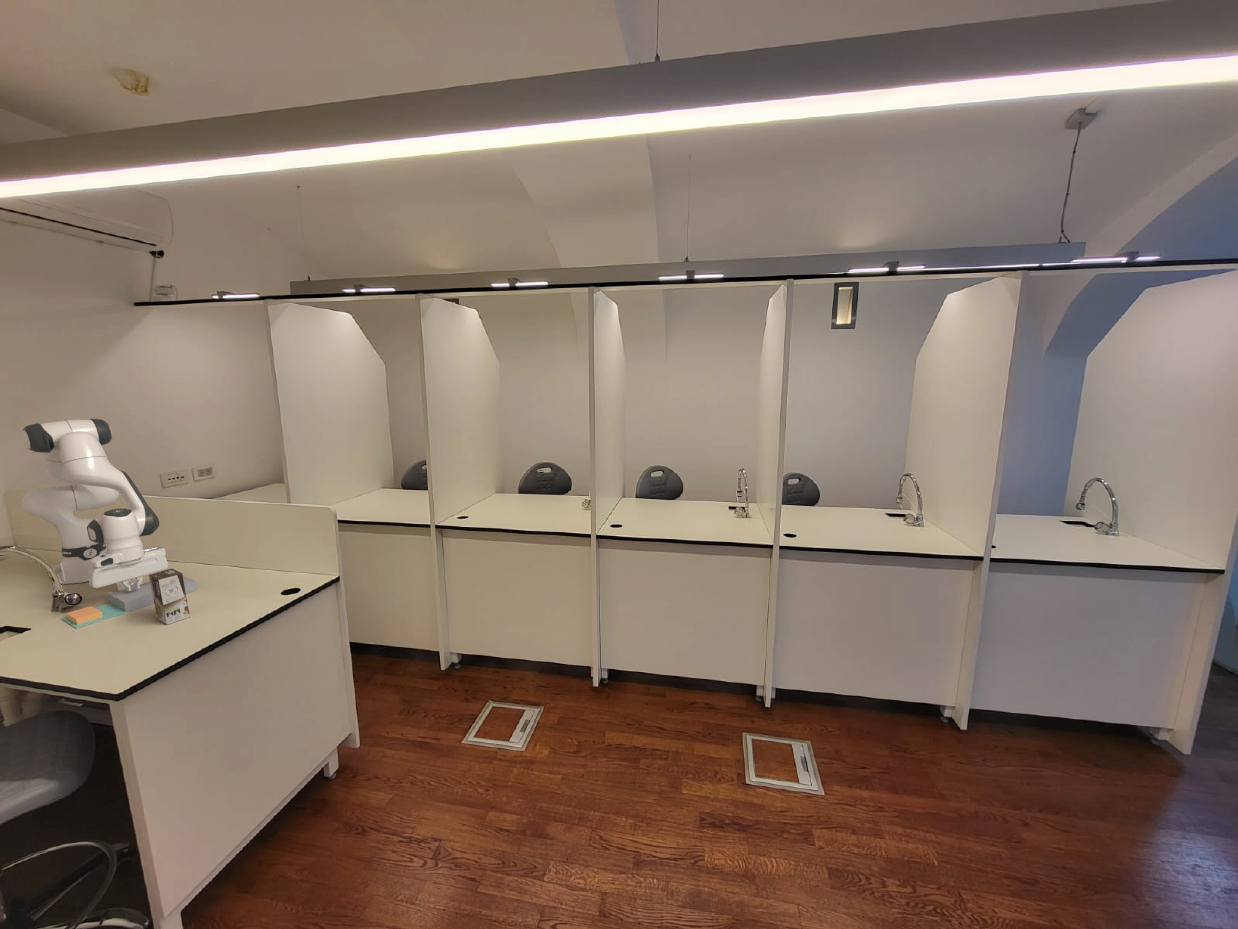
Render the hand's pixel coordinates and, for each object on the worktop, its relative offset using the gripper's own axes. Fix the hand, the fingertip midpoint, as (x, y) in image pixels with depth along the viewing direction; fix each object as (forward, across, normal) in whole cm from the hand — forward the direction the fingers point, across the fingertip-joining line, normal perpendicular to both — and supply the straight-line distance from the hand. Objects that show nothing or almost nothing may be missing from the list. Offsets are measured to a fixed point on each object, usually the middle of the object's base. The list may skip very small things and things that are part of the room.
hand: (133, 589), depth 172 cm
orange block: (+3, +13, 0) cm, 13 cm away
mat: (+5, +11, 0) cm, 12 cm away
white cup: (+5, -4, -18) cm, 20 cm away
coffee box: (+5, -2, +26) cm, 27 cm away
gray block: (+5, -5, 0) cm, 7 cm away
